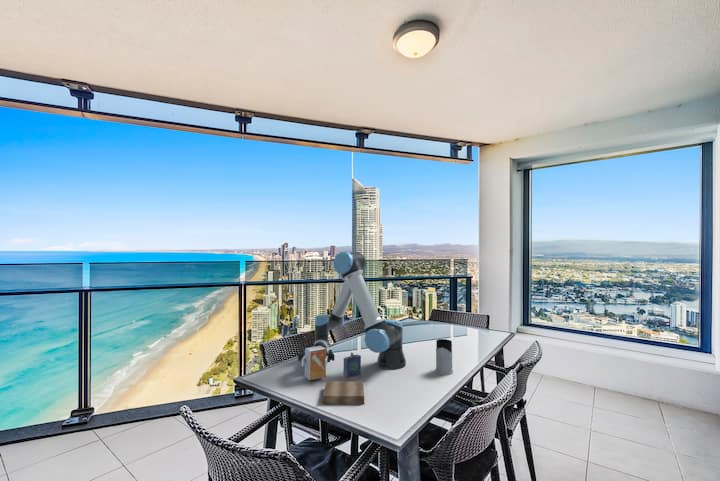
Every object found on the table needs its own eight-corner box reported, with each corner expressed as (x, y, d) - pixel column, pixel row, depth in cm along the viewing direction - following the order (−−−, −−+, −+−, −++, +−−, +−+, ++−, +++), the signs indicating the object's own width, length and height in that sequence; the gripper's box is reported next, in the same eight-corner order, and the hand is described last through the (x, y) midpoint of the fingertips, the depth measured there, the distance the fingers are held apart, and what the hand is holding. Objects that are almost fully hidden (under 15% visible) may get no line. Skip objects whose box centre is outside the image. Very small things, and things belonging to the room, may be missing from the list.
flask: (344, 378, 144) (345, 355, 145) (341, 376, 147) (342, 353, 147) (361, 374, 149) (361, 352, 149) (358, 372, 151) (358, 350, 152)
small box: (310, 380, 138) (310, 351, 138) (304, 376, 143) (304, 347, 144) (326, 377, 142) (326, 348, 143) (320, 372, 147) (320, 345, 148)
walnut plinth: (363, 388, 133) (363, 381, 133) (364, 404, 119) (364, 396, 119) (326, 388, 132) (326, 381, 133) (322, 403, 118) (322, 396, 119)
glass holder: (433, 372, 152) (433, 341, 153) (440, 364, 165) (439, 335, 166) (451, 375, 148) (451, 344, 149) (456, 366, 161) (456, 337, 162)
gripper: (341, 356, 161) (339, 371, 139) (298, 356, 160) (289, 371, 138) (341, 341, 161) (339, 354, 139) (298, 341, 161) (289, 354, 139)
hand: (314, 363), depth 139 cm, fingers closed on small box, 10 cm apart
